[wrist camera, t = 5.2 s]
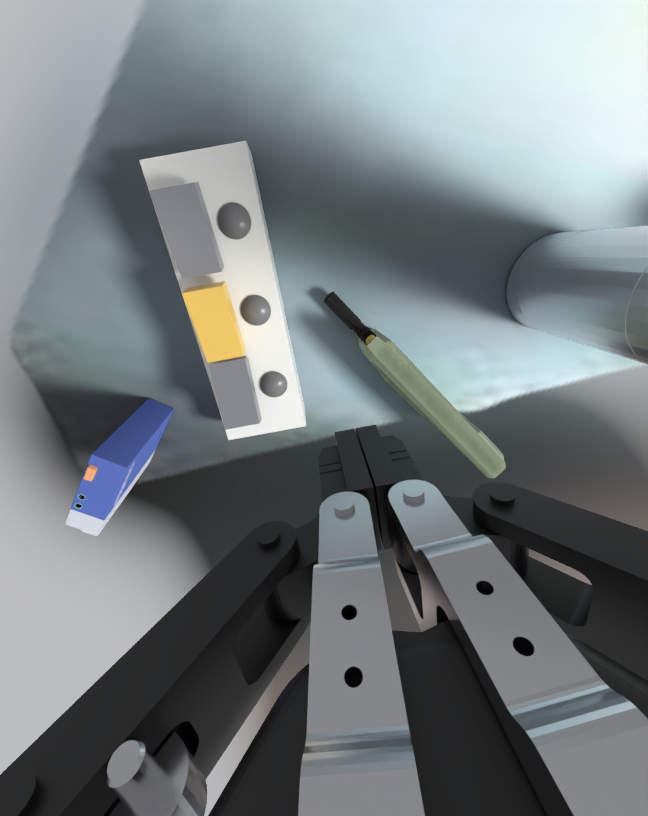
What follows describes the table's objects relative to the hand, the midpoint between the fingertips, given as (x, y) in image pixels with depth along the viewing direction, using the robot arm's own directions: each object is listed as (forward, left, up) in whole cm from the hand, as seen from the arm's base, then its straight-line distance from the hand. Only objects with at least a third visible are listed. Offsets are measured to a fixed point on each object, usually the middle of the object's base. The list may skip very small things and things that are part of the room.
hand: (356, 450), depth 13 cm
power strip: (+7, -3, -25) cm, 26 cm away
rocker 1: (+9, -3, -21) cm, 23 cm away
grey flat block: (+9, -10, -21) cm, 25 cm away
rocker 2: (+9, +4, -21) cm, 23 cm away
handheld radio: (-9, +7, -25) cm, 28 cm away
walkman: (+20, +8, -25) cm, 33 cm away
